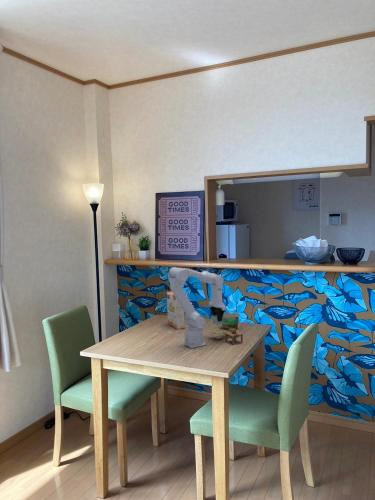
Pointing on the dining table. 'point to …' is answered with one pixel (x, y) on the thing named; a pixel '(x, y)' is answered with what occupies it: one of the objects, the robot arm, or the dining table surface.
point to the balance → (218, 331)
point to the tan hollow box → (233, 335)
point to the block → (216, 320)
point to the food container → (230, 321)
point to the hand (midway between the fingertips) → (217, 320)
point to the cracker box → (175, 312)
